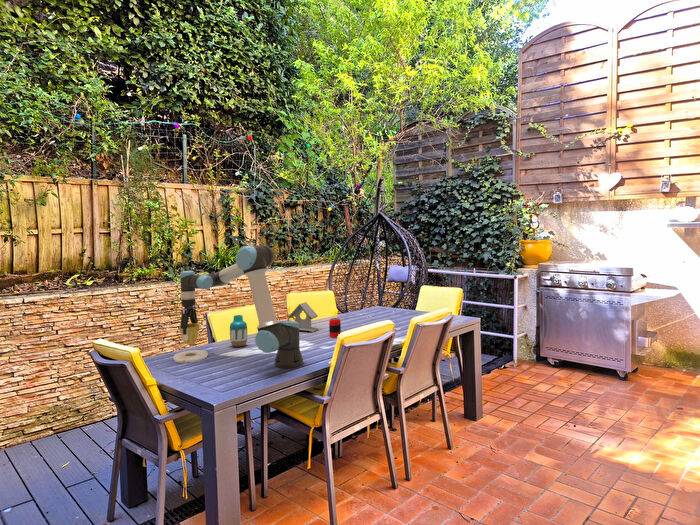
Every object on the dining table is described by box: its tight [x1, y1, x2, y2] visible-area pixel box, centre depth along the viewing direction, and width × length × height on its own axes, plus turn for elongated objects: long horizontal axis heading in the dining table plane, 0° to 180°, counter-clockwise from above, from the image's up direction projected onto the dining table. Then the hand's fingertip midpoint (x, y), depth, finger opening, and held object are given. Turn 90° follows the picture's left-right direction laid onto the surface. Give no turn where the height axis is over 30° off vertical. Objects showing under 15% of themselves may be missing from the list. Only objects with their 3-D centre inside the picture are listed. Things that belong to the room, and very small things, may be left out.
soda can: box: [328, 317, 342, 339], centre depth 287 cm, size 8×8×12 cm
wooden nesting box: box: [287, 301, 319, 334], centre depth 306 cm, size 18×10×20 cm, turn 68°
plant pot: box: [178, 323, 200, 345], centre depth 242 cm, size 10×10×10 cm
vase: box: [229, 314, 248, 348], centre depth 266 cm, size 11×11×19 cm
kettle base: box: [173, 349, 208, 364], centre depth 243 cm, size 18×18×2 cm
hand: (189, 337), depth 242 cm, fingers closed on plant pot, 10 cm apart
